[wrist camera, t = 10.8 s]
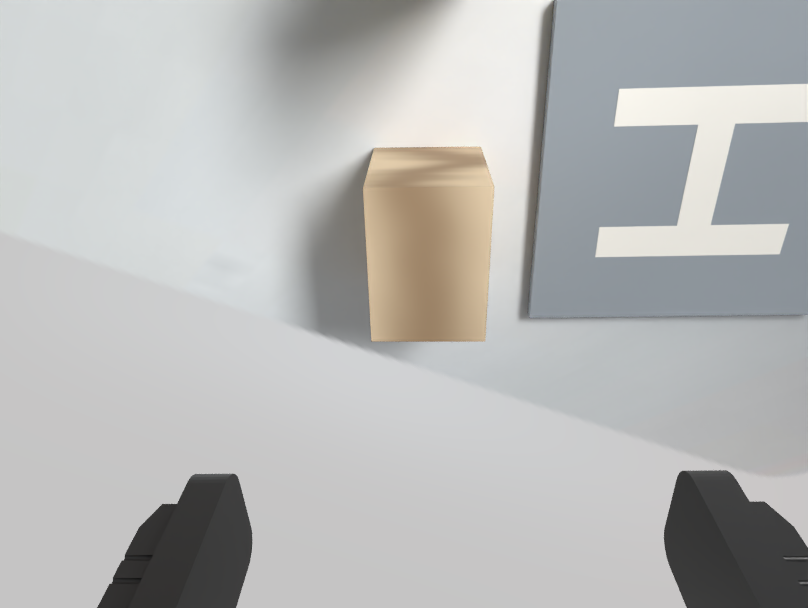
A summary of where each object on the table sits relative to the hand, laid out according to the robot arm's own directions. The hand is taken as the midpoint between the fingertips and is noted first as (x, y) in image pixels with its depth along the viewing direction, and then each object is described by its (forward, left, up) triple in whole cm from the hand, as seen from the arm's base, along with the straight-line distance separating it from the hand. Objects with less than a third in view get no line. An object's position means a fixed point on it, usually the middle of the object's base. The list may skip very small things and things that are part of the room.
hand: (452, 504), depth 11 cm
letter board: (-12, 0, -20) cm, 23 cm away
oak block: (0, +2, -20) cm, 20 cm away
